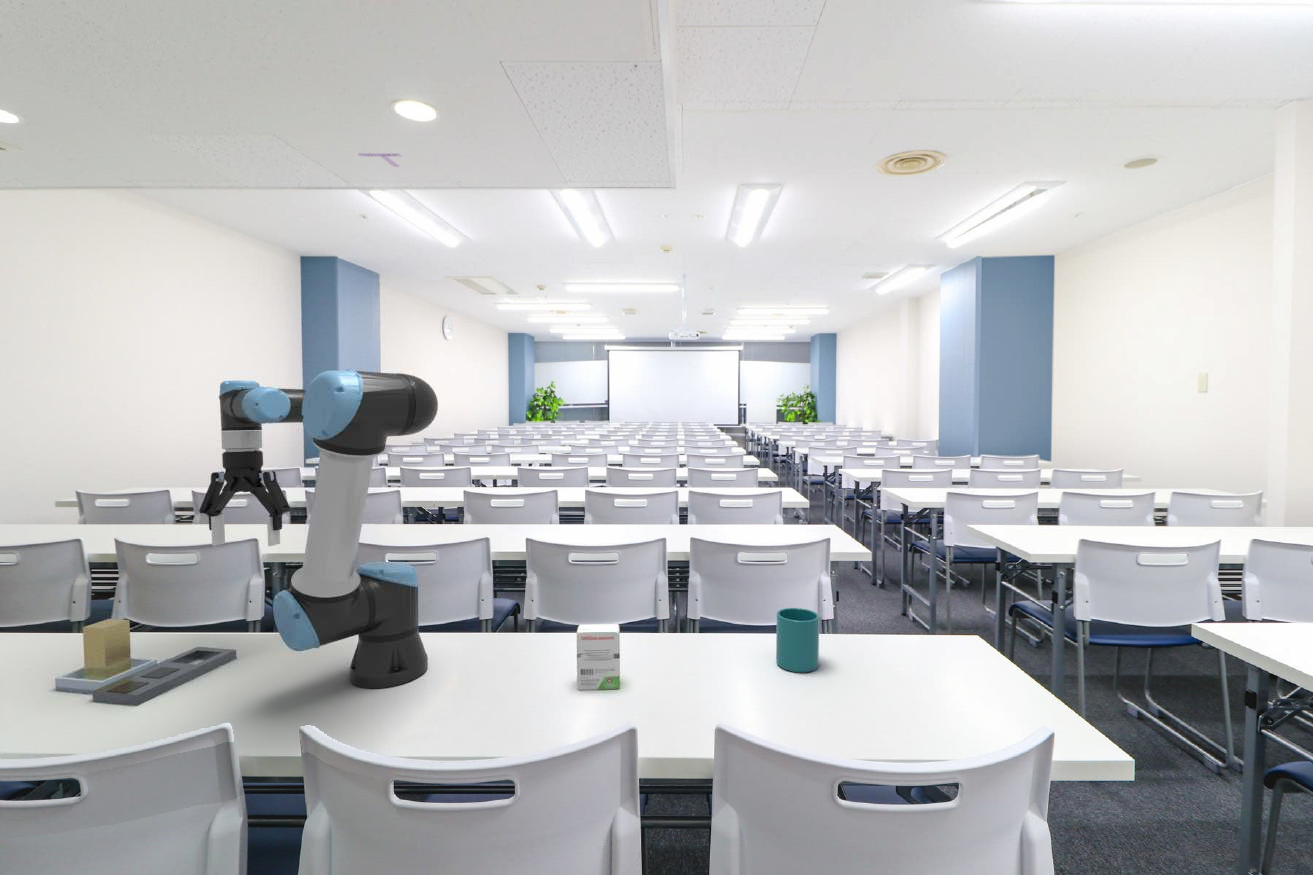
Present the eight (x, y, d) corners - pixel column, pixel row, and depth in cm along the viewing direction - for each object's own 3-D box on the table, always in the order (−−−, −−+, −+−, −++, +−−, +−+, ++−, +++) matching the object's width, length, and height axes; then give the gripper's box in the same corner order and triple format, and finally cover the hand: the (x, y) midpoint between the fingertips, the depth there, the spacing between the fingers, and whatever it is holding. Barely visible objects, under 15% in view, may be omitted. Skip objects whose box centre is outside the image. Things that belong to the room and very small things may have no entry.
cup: (805, 650, 140) (806, 602, 140) (824, 673, 128) (825, 620, 128) (767, 651, 140) (768, 603, 139) (783, 674, 128) (783, 622, 127)
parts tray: (157, 670, 129) (157, 659, 129) (102, 694, 118) (101, 682, 118) (113, 667, 130) (113, 655, 130) (55, 690, 120) (55, 678, 119)
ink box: (620, 678, 125) (620, 622, 125) (619, 689, 121) (619, 631, 120) (578, 679, 125) (578, 623, 125) (576, 690, 120) (576, 632, 120)
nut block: (131, 672, 126) (129, 620, 126) (106, 682, 121) (103, 628, 121) (110, 670, 127) (108, 618, 126) (84, 680, 122) (82, 627, 122)
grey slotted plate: (236, 658, 135) (236, 649, 135) (137, 705, 114) (137, 694, 113) (197, 655, 137) (197, 646, 137) (92, 701, 115) (92, 690, 115)
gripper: (306, 448, 138) (309, 541, 138) (206, 450, 140) (209, 541, 141) (282, 450, 130) (285, 548, 131) (177, 451, 133) (181, 547, 134)
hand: (246, 544), depth 136 cm, fingers open, 13 cm apart
